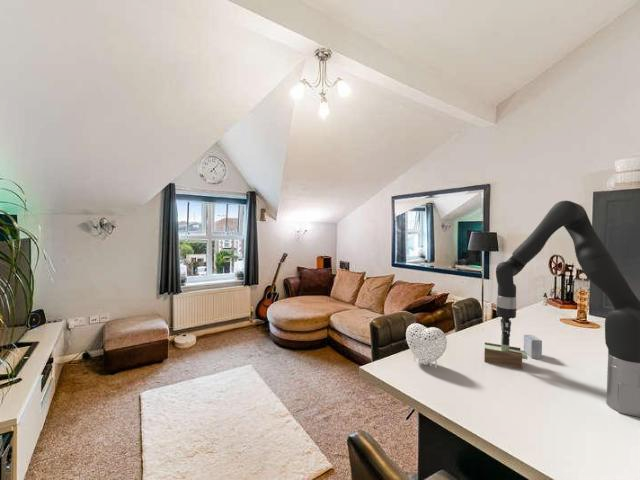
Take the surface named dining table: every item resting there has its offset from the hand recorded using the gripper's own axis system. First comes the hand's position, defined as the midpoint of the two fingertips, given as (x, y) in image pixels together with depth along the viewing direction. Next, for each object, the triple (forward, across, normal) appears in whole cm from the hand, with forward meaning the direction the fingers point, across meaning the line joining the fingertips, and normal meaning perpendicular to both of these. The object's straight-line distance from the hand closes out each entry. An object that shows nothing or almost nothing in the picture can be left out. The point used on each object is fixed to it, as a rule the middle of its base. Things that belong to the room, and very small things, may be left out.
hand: (505, 341), depth 134 cm
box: (+9, 0, +1) cm, 9 cm away
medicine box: (+10, +15, -12) cm, 21 cm away
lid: (+5, 0, 0) cm, 5 cm away
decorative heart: (+10, -20, +31) cm, 38 cm away
